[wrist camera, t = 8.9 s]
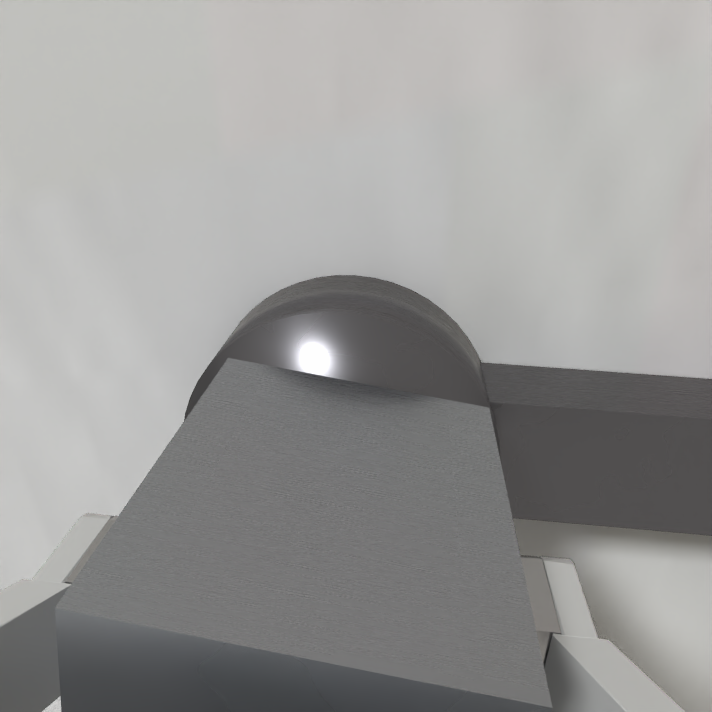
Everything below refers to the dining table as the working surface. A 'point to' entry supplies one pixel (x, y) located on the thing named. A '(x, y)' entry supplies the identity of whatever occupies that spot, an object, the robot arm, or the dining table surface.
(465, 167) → the dining table surface
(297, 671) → the plain grey cube block
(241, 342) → the ratchet
